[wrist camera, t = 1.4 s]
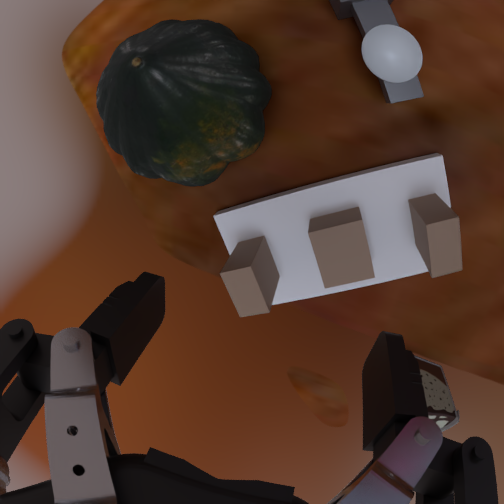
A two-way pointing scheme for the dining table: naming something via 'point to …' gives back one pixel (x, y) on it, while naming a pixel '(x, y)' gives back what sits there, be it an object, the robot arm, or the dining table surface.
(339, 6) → the grey white knobbed bar
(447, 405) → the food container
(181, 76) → the squash
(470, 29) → the dining table surface
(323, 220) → the display stand
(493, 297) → the dining table surface
